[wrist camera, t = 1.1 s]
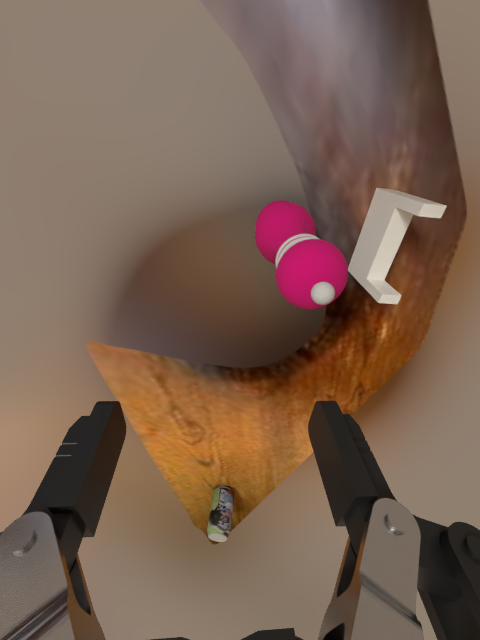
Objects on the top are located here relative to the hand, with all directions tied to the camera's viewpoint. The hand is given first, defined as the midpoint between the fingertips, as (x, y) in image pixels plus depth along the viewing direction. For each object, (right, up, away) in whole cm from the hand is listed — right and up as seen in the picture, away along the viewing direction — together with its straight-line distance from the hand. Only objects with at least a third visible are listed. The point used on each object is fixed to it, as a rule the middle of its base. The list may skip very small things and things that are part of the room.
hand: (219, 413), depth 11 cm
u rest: (+19, +16, +26) cm, 36 cm away
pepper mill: (+6, +17, +25) cm, 31 cm away
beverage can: (-5, -46, +67) cm, 81 cm away
